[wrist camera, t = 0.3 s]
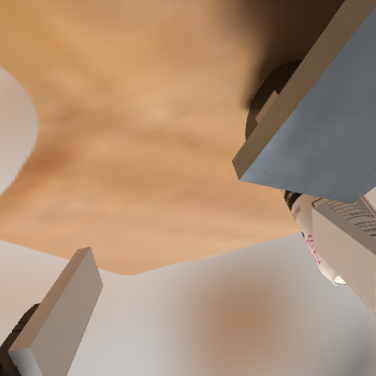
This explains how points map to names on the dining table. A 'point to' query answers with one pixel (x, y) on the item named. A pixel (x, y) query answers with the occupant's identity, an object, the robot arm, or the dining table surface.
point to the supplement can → (355, 213)
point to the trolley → (319, 115)
